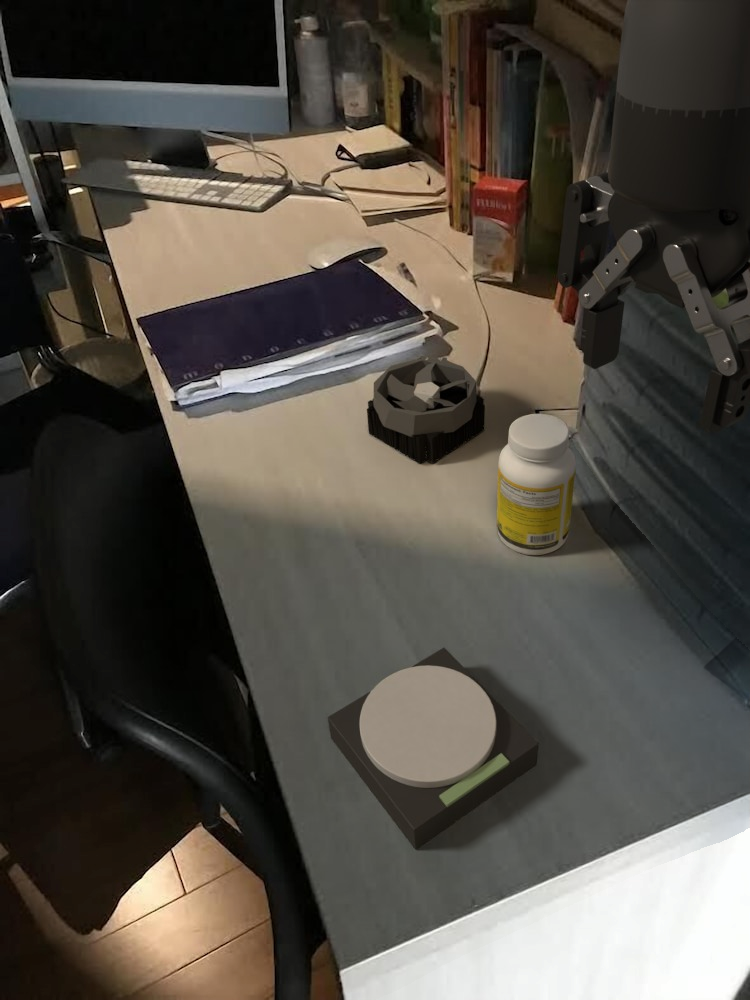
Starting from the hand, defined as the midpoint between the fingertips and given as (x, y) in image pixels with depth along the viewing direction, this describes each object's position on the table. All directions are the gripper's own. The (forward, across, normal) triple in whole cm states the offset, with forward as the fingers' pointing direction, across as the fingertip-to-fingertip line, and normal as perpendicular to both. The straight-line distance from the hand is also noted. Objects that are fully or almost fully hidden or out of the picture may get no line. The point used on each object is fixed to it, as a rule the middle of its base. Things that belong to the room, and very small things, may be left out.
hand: (655, 392), depth 47 cm
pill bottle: (+23, -14, +4) cm, 27 cm away
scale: (+23, -2, -15) cm, 28 cm away
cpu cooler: (+23, -32, +6) cm, 40 cm away
